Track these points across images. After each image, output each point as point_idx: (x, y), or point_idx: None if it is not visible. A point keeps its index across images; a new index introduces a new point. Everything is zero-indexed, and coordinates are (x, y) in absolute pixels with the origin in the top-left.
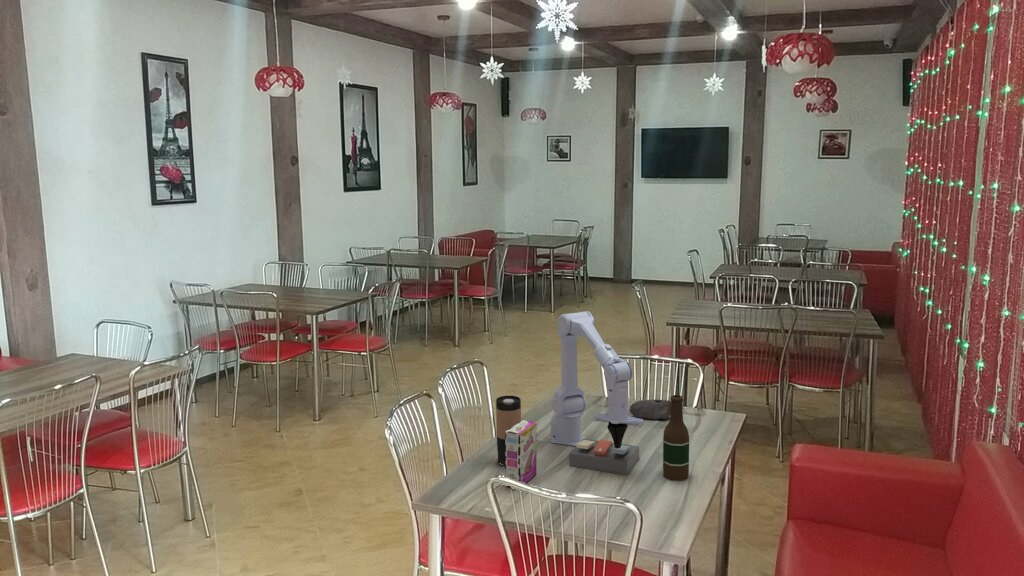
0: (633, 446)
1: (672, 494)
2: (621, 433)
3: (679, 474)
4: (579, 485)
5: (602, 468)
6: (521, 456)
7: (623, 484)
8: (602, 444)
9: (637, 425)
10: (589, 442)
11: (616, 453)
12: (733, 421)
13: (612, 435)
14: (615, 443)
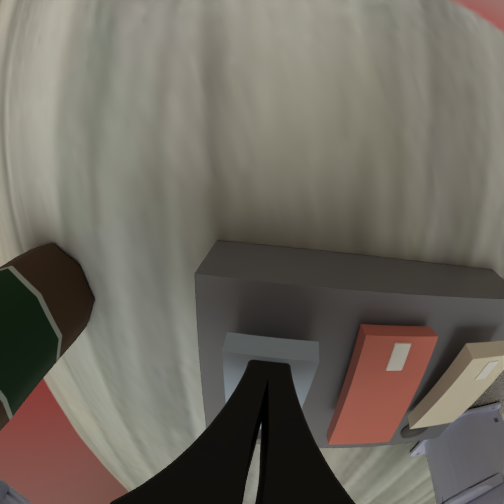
0: None
1: (25, 123)
2: (167, 480)
3: (21, 255)
4: (427, 52)
5: (359, 260)
6: None
7: (205, 116)
8: (382, 410)
9: (14, 499)
10: (443, 408)
11: (280, 338)
12: (127, 488)
13: (310, 461)
14: (279, 390)
